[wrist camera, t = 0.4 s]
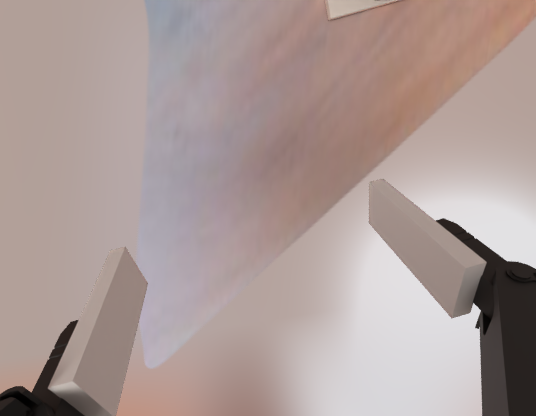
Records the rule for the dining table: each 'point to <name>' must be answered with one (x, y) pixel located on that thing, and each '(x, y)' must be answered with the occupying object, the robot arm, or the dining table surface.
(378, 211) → the robot arm
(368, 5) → the ring plate
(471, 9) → the dining table surface
